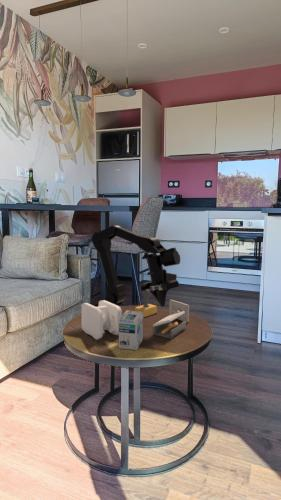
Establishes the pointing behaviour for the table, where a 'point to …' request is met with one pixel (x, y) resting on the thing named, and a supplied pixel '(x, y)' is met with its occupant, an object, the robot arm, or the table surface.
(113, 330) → the cable organizer
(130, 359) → the table surface
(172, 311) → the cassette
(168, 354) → the table surface
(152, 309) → the rubber stamp
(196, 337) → the table surface
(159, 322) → the white rectangular panel
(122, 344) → the light bulb box
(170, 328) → the cable duct
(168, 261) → the robot arm
